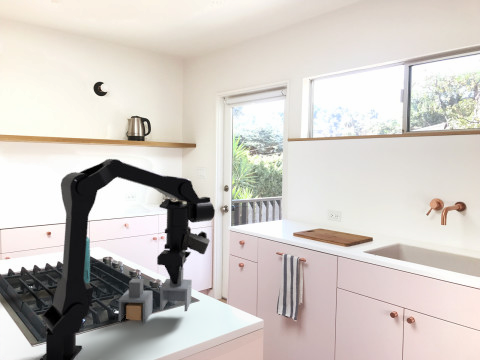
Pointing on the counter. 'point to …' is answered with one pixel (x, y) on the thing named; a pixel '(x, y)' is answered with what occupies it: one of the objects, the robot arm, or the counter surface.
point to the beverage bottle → (87, 262)
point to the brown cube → (134, 311)
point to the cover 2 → (176, 291)
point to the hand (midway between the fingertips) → (176, 281)
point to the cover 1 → (136, 299)
